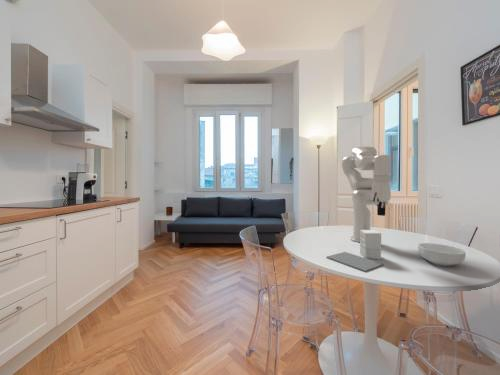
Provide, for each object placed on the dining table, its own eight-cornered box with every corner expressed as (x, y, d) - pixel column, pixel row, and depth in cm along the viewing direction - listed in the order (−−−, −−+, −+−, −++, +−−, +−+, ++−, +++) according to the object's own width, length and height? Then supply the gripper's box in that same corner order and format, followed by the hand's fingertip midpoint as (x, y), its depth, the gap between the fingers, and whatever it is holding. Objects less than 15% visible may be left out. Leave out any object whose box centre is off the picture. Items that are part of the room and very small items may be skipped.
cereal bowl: (475, 271, 96) (476, 255, 96) (430, 268, 100) (430, 252, 99) (449, 257, 113) (449, 243, 113) (411, 255, 116) (411, 241, 116)
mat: (344, 252, 120) (344, 251, 120) (383, 265, 103) (383, 263, 103) (326, 257, 113) (326, 256, 113) (365, 271, 96) (365, 270, 96)
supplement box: (374, 254, 118) (375, 229, 118) (381, 259, 111) (381, 233, 110) (359, 253, 119) (359, 229, 119) (365, 258, 112) (365, 232, 111)
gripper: (382, 179, 125) (382, 213, 126) (366, 179, 117) (365, 215, 118) (397, 179, 119) (396, 215, 119) (381, 179, 111) (380, 217, 111)
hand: (381, 215), depth 118 cm, fingers closed
